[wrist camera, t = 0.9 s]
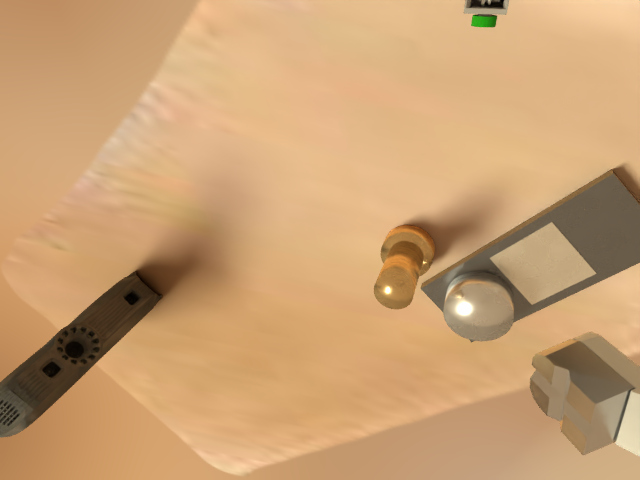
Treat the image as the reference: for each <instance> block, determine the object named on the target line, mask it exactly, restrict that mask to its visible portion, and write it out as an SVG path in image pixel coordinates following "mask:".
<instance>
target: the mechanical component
mask: <svg viewBox="0 0 640 480" xmlns="http://www.w3.org/2000/svg"><path fill="white" fill-rule="evenodd" d="M508 4H509V0H466V1H465V8H464V13H468V14H478V15H473V17H472V24H471V26H475V27H495V25H496V20H497V16H496V15H492V14H498V15H506V14H507V9H508Z"/></svg>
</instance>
